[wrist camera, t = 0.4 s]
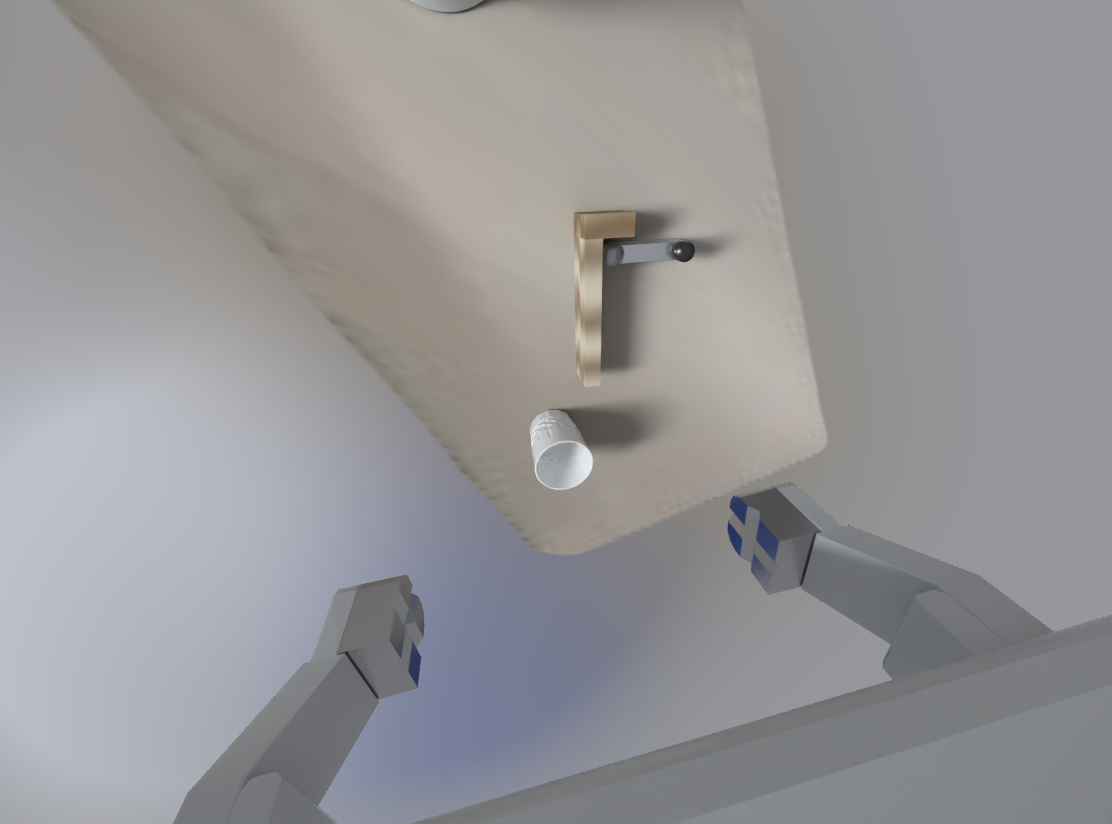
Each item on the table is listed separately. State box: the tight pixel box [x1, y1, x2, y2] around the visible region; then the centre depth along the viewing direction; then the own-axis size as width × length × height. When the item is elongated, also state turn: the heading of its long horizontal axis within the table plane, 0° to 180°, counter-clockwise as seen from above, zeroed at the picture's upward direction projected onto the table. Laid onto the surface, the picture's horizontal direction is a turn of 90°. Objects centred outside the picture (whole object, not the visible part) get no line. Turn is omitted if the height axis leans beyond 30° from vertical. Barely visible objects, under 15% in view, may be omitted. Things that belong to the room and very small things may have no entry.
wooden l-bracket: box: [574, 210, 636, 387], centre depth 51 cm, size 20×6×6 cm, turn 2°
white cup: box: [530, 410, 593, 490], centre depth 57 cm, size 8×8×10 cm
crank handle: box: [602, 239, 695, 268], centre depth 48 cm, size 11×3×5 cm, turn 93°
